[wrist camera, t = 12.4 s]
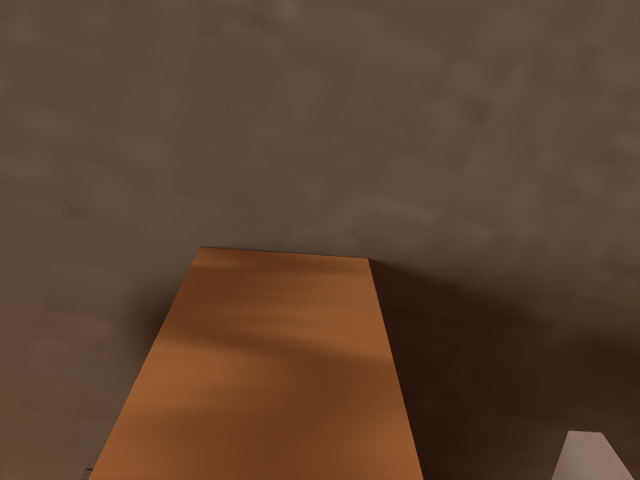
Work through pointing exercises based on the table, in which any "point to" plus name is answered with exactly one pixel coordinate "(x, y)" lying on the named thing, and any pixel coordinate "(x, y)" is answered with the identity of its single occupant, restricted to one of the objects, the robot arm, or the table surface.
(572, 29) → the table surface
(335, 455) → the beige and orange block
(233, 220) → the table surface
